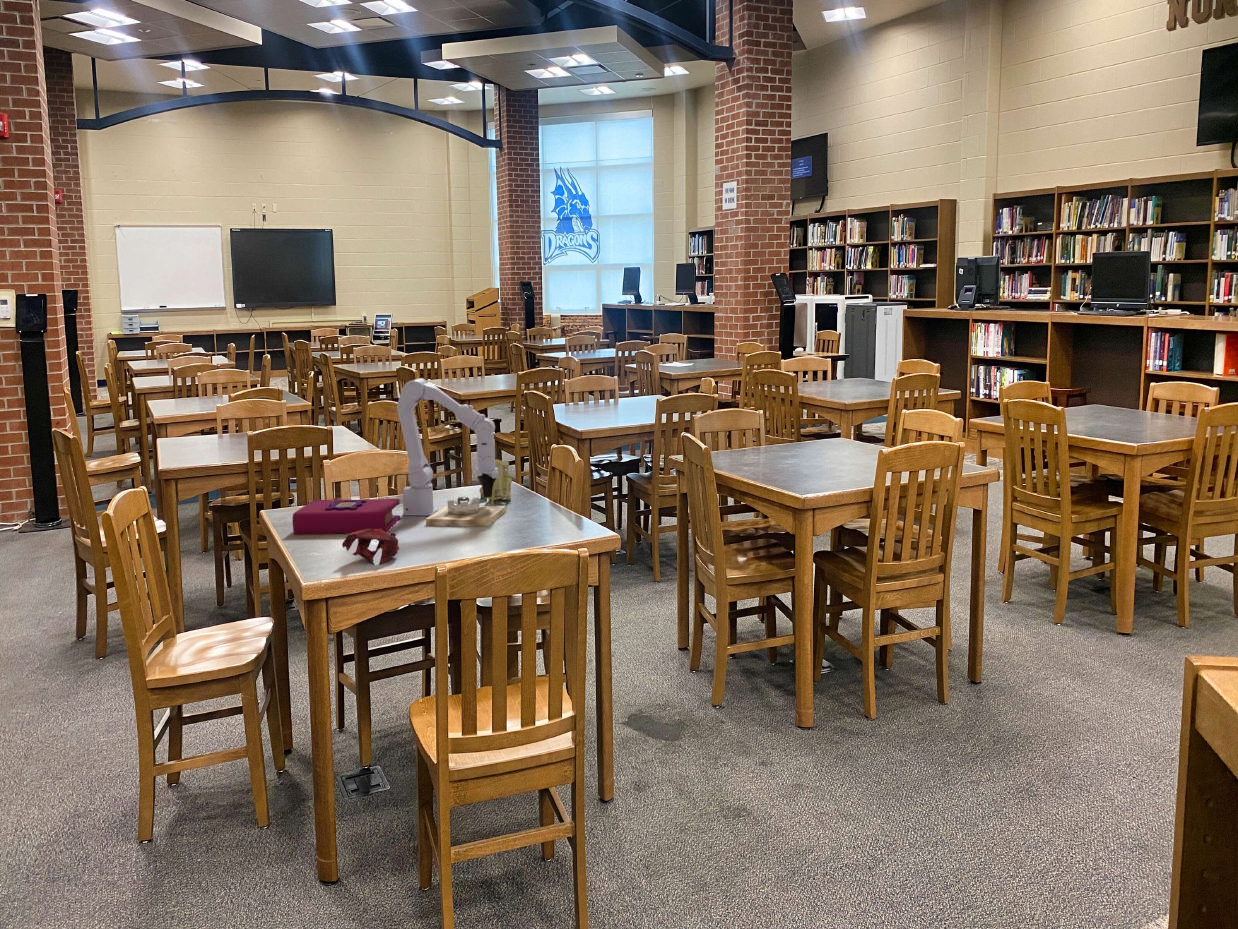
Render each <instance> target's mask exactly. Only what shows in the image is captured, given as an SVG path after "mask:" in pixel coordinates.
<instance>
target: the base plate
mask: <svg viewBox="0 0 1238 929" xmlns="http://www.w3.org/2000/svg"><path fill="white" fill-rule="evenodd" d="M506 508H507V507H506V505H493V506H491V505H480V504H479V512H478V513H476V514H471V515H451V514H448V504H446V505H444V506H443V507H441V508H440V509H438V511H436V512H435V513H433V514H432V515H430V516H428V517H426V518H425V525H426V526H438V525H450V526H449V527H451V526H452V527H453V526H454V527H489V526H490V525H492V524H493V523H494V522H496V521H497V520H498V519H499V518H500V517H502V516H501V515H504V514H505V513H506V512H507V509H506Z"/></svg>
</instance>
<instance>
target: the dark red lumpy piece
mask: <svg viewBox="0 0 1238 929" xmlns="http://www.w3.org/2000/svg"><path fill="white" fill-rule="evenodd" d="M396 536H397V534H396V532H391V533H388V532H387V533H386V532H385V531H383V530H382V529H365V530H360V531H356V532H352V533H350V534H348V535H347V536H345V537H346V538H345V539H344V541H343V542H342V543H341V545H342V548H345V549H346V550H347V555H349V556H360V557H361V558H363V559H365V560H366V561H367V562H373V564H374V565H375V566H376V565H378V566H379V565H383V564H382V563H388V562H389V561H390V559H391V558H394V557H395V556H396V555H397V554H398V551H399V550H400V547H399V539H398V538H397V537H396Z"/></svg>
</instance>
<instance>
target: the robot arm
mask: <svg viewBox="0 0 1238 929" xmlns="http://www.w3.org/2000/svg"><path fill="white" fill-rule="evenodd" d="M422 399H423V400H427V401H429V400H430V401H431V400H432V401H434V402H436V403H438V404H440V405H441V406H442V407H444V408H446V409H448V410H449V411H451V412H452V413H454V415H455V419H456V420H457V421H459V422H460V423H461V424H463V425H465V426H466V427H468V428H469V429H471V430H472V431H474V433H475V435H476V455H477V459H476V460H477V466H475V473H479V474H481V475H478V476H477V479H478V480H479V483H480V486H481V487H482V488H483V494H484V497H492V489H493V485H494V482H495V480H496V478H499V472H497V470H499V468H496V467H495V460H496V448H495V447H496V446H495V436H494V432H495V430H496V425H495V422H494V420H492V418H490V417H486V415H485V414H481V413H480V412H478V411H477V410H475V409H474V406H473V405H471V404H469V405H468V404H467V403H466V404H460V403H459V402H457V401H456V400H455V399H454V398H452V397H451V396H450V395H448V394H447V393H445V391H442V389H440V388H439V387H437V386H436V385H435V384H433V383H431V382H428V380H426V379H425V378H422V377H418V378H415V379H413V380H409V381H407V382H406V383H405V384H404V385H403V386H402V387H401V390H400V395H399V398H398V401H397V404H396V412H397V415H398V420H399V423H400V427H401V431H402V436H403V440H404V443H405V444H404V445H405V448H406V453H407V457H408V464H407V465H408V466H407V468H408V474H407V481H408V483H409V486H405V487H404V488H403V491H402V509H403V510H402V512H403V513H402V516H426V517H427V516H428V517H429V516H431V515H433V514H434V513H436V512H437V511H439V509H437V508H434V490H433V483H432V480H433V477H434V470H433V469H432V467H431V465H430V464H429V461H428V459H427V457H426V456H425V453H424V452H425V451H424V448H423V444H422V440H421V435H420V432H419V427H418V423H417V418H416V414H415V408H416V407H417V405H418V404H419V402H420V401H421V400H422Z"/></svg>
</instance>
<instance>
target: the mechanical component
mask: <svg viewBox="0 0 1238 929" xmlns="http://www.w3.org/2000/svg"><path fill="white" fill-rule="evenodd" d="M509 465H510V462H509V461H508V460H500V459H495V467H496V468H499V470H497V472H499V478H496V480H495V482H494V485H493V489H492V497H487V500H488V501H491V503H490V504H491V505H490V506H494V500H495V501H497V500H504V499H505V500H506V501H512V494H511V492H512V483H513V478H512V477H509V476H510V475H509V467H510V466H509Z"/></svg>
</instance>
